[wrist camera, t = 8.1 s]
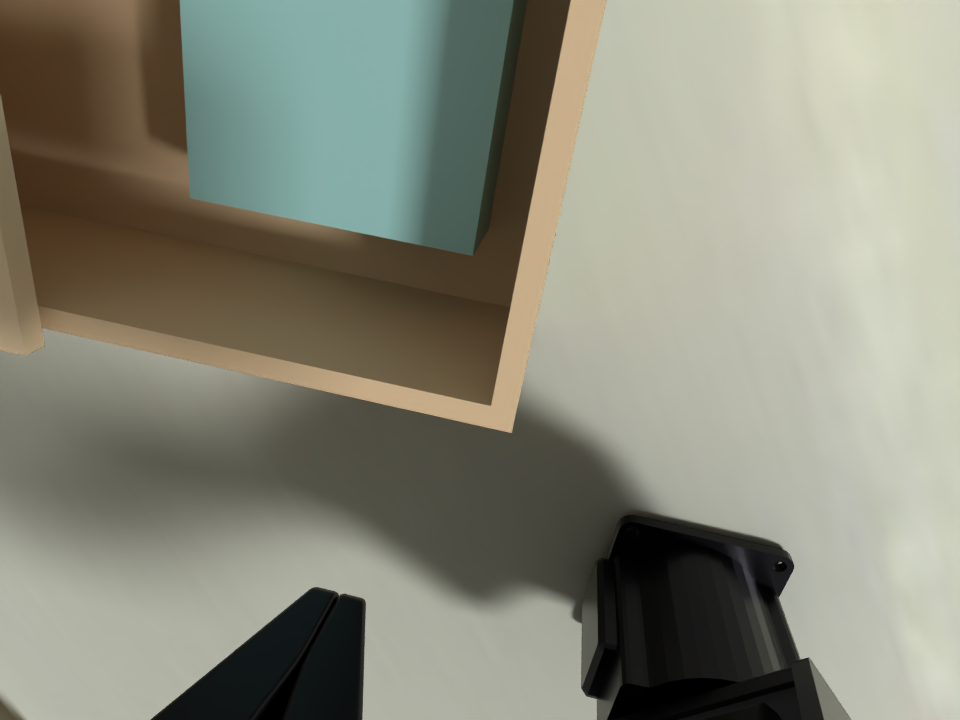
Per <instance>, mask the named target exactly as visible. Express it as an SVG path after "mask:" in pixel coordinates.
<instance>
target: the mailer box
mask: <svg viewBox="0 0 960 720" xmlns="http://www.w3.org/2000/svg"><path fill="white" fill-rule="evenodd" d="M605 4H606V0H0V95H1V100H2V106H3V111H4V117H5V123H6V128H7V134H8V140H9V145H10V151H11V157H12V162H13V168H14V174H15V179H16V185H17V191H18V196H19V202H20V208H21V213H22V219H23V225H24V230H25V236H26V242H27V247H28V253H29V259H30V264H31V270H32V276H33V281H34V287H35V293H36V298H37V304H38V310H39V315H40V321H41V327H42V328H45V329H49V330H54V331H58V332H63V333H67V334H71V335H76V336H80V337H85V338H89V339H94V340H98V341H103V342H107V343H112V344H116V345H121V346H125V347H130V348H134V349H138V350H143V351H147V352H152V353H156V354H161V355H165V356H170V357H174V358H179V359H183V360H188V361H192V362H197V363H201V364H205V365H210V366H214V367H219V368H223V369H228V370H232V371H237V372H241V373H246V374H250V375H255V376H259V377H263V378H268V379H272V380H277V381H281V382H286V383H290V384H295V385H299V386H304V387H308V388H313V389H317V390H322V391H326V392H330V393H335V394H339V395H344V396H348V397H353V398H357V399H362V400H366V401H371V402H375V403H380V404H384V405H389V406H393V407H397V408H402V409H406V410H411V411H415V412H420V413H424V414H429V415H433V416H438V417H442V418H447V419H451V420H456V421H460V422H464V423H469V424H473V425H478V426H482V427H487V428H491V429H496V430H500V431H505V432H509V433H512V429H513V424H514V420H515V415H516V411H517V406H518V402H519V397H520V392H521V388H522V383H523V379H524V374H525V370H526V365H527V360H528V356H529V351H530V347H531V342H532V338H533V333H534V329H535V324H536V319H537V315H538V310H539V306H540V301H541V297H542V292H543V287H544V283H545V278H546V274H547V269H548V265H549V260H550V256H551V251H552V246H553V242H554V237H555V233H556V228H557V224H558V219H559V214H560V210H561V205H562V201H563V196H564V192H565V187H566V182H567V178H568V173H569V169H570V164H571V160H572V155H573V151H574V146H575V141H576V137H577V132H578V128H579V123H580V119H581V114H582V109H583V105H584V100H585V96H586V91H587V87H588V82H589V77H590V73H591V68H592V64H593V59H594V55H595V50H596V46H597V41H598V36H599V32H600V27H601V23H602V18H603V14H604V9H605Z"/></svg>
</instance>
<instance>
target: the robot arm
mask: <svg viewBox="0 0 960 720" xmlns="http://www.w3.org/2000/svg"><path fill="white" fill-rule="evenodd" d="M630 527H634V528H636V530H634V531H629V530H627V528H630ZM776 562H782V563H780V564H774V563H776ZM793 569H794V564H793V561H792V559H791V556H790V554H789V553H788V552H787V551H785V550H782V549H778V548H774V547H769V546H765V545H761V544H756V543H752V542H748V541H743V540H739V539H735V538H730V537H726V536H722V535H717V534H713V533H709V532H704V531H700V530H696V529H691V528H687V527H683V526H678V525H674V524H669V523H665V522H661V521H656V520H652V519H648V518H643V517H639V516H634V515H628V516H624V517H623V518H621V519H620V521H619V523H618V525H617V528H616V531H615V534H614V537H613V540H612V543H611V546H610V549H609V552H608V555H607V558H606V559H605V558H601V559H600V560H598V561H597V562H596V564H595V567H594V570H593V573H592V576H591V579H590V582H589V585H588V588H587V591H586V594H585V597H584V600H583V604H582V662H581V689H582V690H583V692H584V693H585V695H586V696H587V697H591V698H595V699H597V720H851V718H850V717H849V715H848V714H847V712H846V711H845V709H844V708H843V707H842V705H841V704H840V702H839V701H838V699H837V698H836V696H835V695H834V693H833V692H832V690H831V689H830V687H829V686H828V684H827V683H826V681H825V680H824V678H823V677H822V675H821V674H820V672H819V671H818V670H817V668H816V667H815V665H814V664H813V662H812V661H811V659H810V658H809V657H808V658H805V659H802V660H801V659H800V656H799V654H798V651H797V648H796V645H795V642H794V640H793V637H792V634H791V631H790V628H789V626H788V623H787V620H786V617H785V614H784V612H783V609H782V606H781V603H780V600H779V596H780V594H781V592H782V590H783V589H784V587H785V585H786V583H787V581H788V579H789V577H790V575H791V573H792V572H793ZM365 612H366V602H365V600H364V599H363V598H359V597H355V596H351V595H347V594H341V595H340V596H339V594H338V593H337V592H335V591H331V590H327V589H323V588H319V587H314V588H311V589H310V590H308V591H307V592H306V593H305V594H304V595H302V596H301V597H300V598H299V599H297V600H296V601H295V602H294V603H293V604H291V605H290V606H289V607H288V608H286V609H285V610H284V611H283V612H282V613H280V614H279V615H278V616H277V617H275V618H274V619H273V620H272V621H271V622H269V623H268V624H267V625H266V626H264V627H263V628H262V629H261V630H260V631H258V632H257V633H256V634H255V635H253V636H252V637H251V638H250V639H249V640H247V641H246V642H245V643H244V644H242V645H241V646H240V647H239V648H238V649H236V650H235V651H234V652H233V653H231V654H230V655H229V656H228V657H227V658H225V659H224V660H223V661H222V662H220V663H219V664H218V665H217V666H216V667H214V668H213V669H212V670H211V671H209V672H208V673H207V674H206V675H205V676H203V677H202V678H201V679H200V680H198V681H197V682H196V683H195V684H194V685H192V686H191V687H190V688H189V689H187V690H186V691H185V692H184V693H183V694H181V695H180V696H179V697H178V698H176V699H175V700H174V701H173V702H172V703H170V704H169V705H168V706H167V707H165V708H164V709H163V710H162V711H160V712H159V713H158V714H157V715H156V716H154V717H153V718H152V719H151V720H362V712H363V679H364V646H365Z"/></svg>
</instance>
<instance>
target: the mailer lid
mask: <svg viewBox="0 0 960 720" xmlns="http://www.w3.org/2000/svg"><path fill="white" fill-rule="evenodd" d="M43 346H45V344H44V338H43V332H42V327H41V321H40V315H39V310H38V304H37V298H36V293H35V287H34V281H33V276H32V270H31V264H30V259H29V253H28V247H27V242H26V236H25V230H24V225H23V219H22V213H21V208H20V202H19V196H18V191H17V185H16V179H15V174H14V168H13V162H12V157H11V151H10V145H9V140H8V134H7V128H6V123H5V117H4V111H3V106H2V100H1V95H0V350H2V351H6V352H10V353H15V354H19V355H24V356H26V355H28V354H30V353H32V352H34V351H36V350H38V349H40V348H41V347H43Z"/></svg>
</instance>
